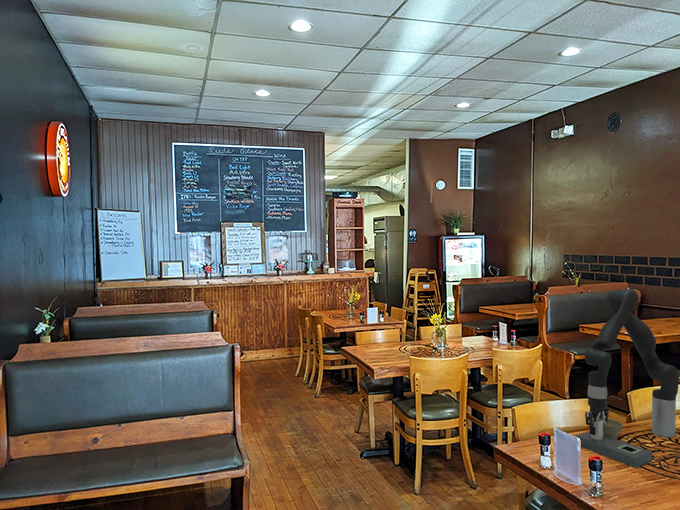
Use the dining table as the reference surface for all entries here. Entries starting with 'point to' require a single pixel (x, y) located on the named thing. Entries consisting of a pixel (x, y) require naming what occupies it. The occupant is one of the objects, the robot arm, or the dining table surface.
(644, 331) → the robot arm
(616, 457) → the panel
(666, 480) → the dining table surface
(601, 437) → the plug peg
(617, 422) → the flower pot
